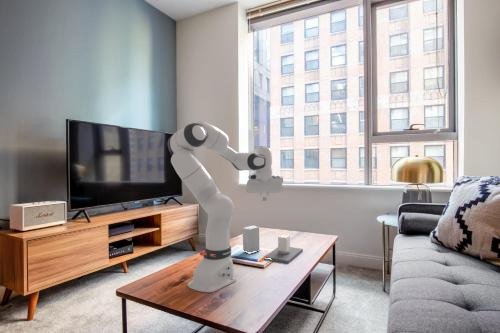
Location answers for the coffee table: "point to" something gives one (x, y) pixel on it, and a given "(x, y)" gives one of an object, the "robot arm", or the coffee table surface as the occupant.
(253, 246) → the skincare box
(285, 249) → the white upright block
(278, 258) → the post base
